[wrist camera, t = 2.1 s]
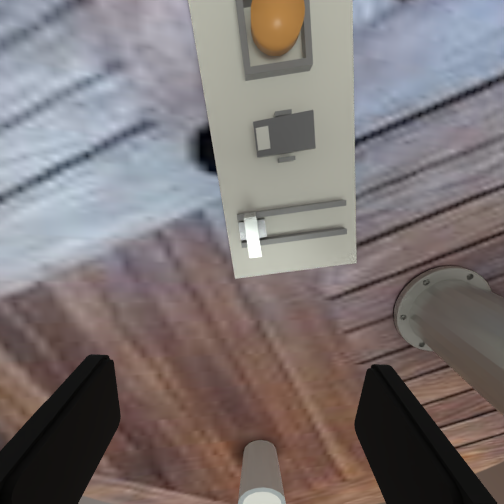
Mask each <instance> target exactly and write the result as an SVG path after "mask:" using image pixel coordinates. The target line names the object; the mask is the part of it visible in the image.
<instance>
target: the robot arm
mask: <svg viewBox="0 0 504 504" xmlns="http://www.w3.org/2000/svg"><path fill="white" fill-rule="evenodd" d="M394 323H395V326H396V329H397V331H398V332H399V334H400V335H401V336H402V337H403V338H404V339H405V340H406V341H407V342H408V343H409V344H411V345H412V346H414V347H416V348H418V349H421V350H426V351H434V352H435V353H436V354H437V355H438V356H439V357H440V358H441V359H443V360H444V361H445V362H446V363H447V364H448V365H449V366H450V367H451V368H452V369H453V370H454V371H455V372H457V373H458V374H459V375H460V376H461V377H462V378H463V379H464V380H465V381H466V382H467V383H468V384H469V385H471V386H472V387H473V388H474V389H475V390H476V391H477V392H478V393H479V394H480V395H481V396H482V397H483V398H484V399H486V400H487V401H488V402H489V403H490V404H491V405H492V406H493V407H494V408H495V409H496V410H497V411H498V412H500V413H501V414H502V415H503V416H504V297H502V296H499V295H497V294H495V293H493V292H491V288H490V287H489V285H488V283H487V281H486V280H485V279H484V278H483V277H482V276H480V275H479V274H477V273H476V272H474V271H471V270H469V269H466V268H463V267H459V266H443V267H437V268H434V269H431V270H428V271H426V272H424V273H422V274H420V275H419V276H417V277H416V278H414V279H413V280H412V281H411V282H410V283H409V284H408V285H407V286H406V287H405V288H404V289H403V291H402V292H401V293H400V295H399V297H398V299H397V301H396V305H395V308H394ZM119 422H120V407H119V400H118V392H117V384H116V376H115V369H114V362H113V360H110V358H109V356H108V355H92V354H91V355H89V356H87V357H86V358H85V359H84V361H83V362H82V363H81V364H80V365H79V366H78V367H77V368H76V369H75V370H74V372H73V373H72V374H71V375H70V376H69V377H68V378H67V379H66V380H65V381H64V383H63V384H62V385H61V386H60V387H59V388H58V389H57V390H56V391H55V392H54V394H53V395H52V396H51V397H50V398H49V399H48V400H47V401H46V402H45V403H44V404H43V405H42V406H41V407H40V408H39V409H38V410H37V411H36V412H35V414H34V415H33V416H32V417H31V418H30V419H29V420H28V421H27V422H26V423H25V425H24V426H23V427H22V428H21V429H20V430H19V431H18V432H17V433H16V434H15V436H14V437H13V438H12V439H11V440H10V441H9V442H8V443H7V444H6V445H5V446H4V448H3V449H2V450H1V451H0V504H78V502H79V500H80V498H81V497H82V495H83V493H84V491H85V489H86V487H87V485H88V483H89V481H90V479H91V478H92V476H93V474H94V472H95V470H96V468H97V466H98V464H99V462H100V460H101V458H102V457H103V455H104V453H105V451H106V449H107V447H108V445H109V443H110V441H111V439H112V437H113V436H114V434H115V432H116V430H117V428H118V426H119ZM355 431H356V434H357V436H358V439H359V441H360V443H361V446H362V448H363V450H364V453H365V455H366V457H367V460H368V462H369V464H370V467H371V469H372V471H373V474H374V476H375V478H376V481H377V483H378V485H379V488H380V490H381V492H382V495H383V497H384V499H385V502H386V504H497V502H496V501H495V499H494V498H493V497H492V496H491V494H490V493H489V492H488V490H487V489H486V488H485V487H484V485H483V484H482V483H481V481H480V480H479V479H478V478H477V476H476V475H475V474H474V472H473V471H472V470H471V468H470V467H469V466H468V465H467V463H466V462H465V461H464V459H463V458H462V457H461V456H460V454H459V453H458V452H457V450H456V449H455V448H454V446H453V445H452V444H451V443H450V441H449V440H448V439H447V437H446V436H445V435H444V434H443V432H442V431H441V430H440V428H439V427H438V426H437V425H436V423H435V422H434V421H433V419H432V418H431V417H430V415H429V414H428V413H427V412H426V410H425V409H424V408H423V406H422V405H421V404H420V403H419V401H418V400H417V399H416V397H415V396H414V395H413V394H412V392H411V391H410V390H409V388H408V387H407V386H406V384H405V383H404V382H403V381H402V379H401V378H400V377H399V375H398V374H397V373H396V372H395V370H394V369H393V368H392V367H391V366H390V365H377V364H374V365H372V366H371V368H369V369H367V372H366V376H365V380H364V384H363V389H362V393H361V397H360V401H359V405H358V410H357V414H356V418H355Z"/></svg>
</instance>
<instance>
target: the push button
mask: <svg viewBox="0 0 504 504" xmlns="http://www.w3.org/2000/svg"><path fill="white" fill-rule="evenodd" d="M304 16H305V4H304V0H252V3H251V34H252V38H253V41H254V43H255V45H256V46H257V47H258V49H259V50H260V51H262V52H263V53H264V54H266V55H269V56H280V55H283V54H285V53H287V52H288V51H289V50H290V49H291V48H292V47H293V46H294V45H295V43H296V41H297V39H298V36H299V33H300V30H301V27H302V24H303V21H304Z"/></svg>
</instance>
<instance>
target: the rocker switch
mask: <svg viewBox="0 0 504 504" xmlns="http://www.w3.org/2000/svg"><path fill="white" fill-rule="evenodd" d="M253 126H254V135H255V143H256V151H257V157H258V158H262V157H268V156H274V155H280V154H286V153H293V152H299V151H305V150H311V149H315V148H316V146H315V128H314V111H313V110H309V111H304V112H299V113H294V114H289V115H284V116H279V117H274V118H269V119H264V120H259V121H255V122H253Z"/></svg>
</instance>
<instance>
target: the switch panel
mask: <svg viewBox="0 0 504 504" xmlns="http://www.w3.org/2000/svg"><path fill="white" fill-rule="evenodd" d="M188 2H189V8H190V14H191V20H192V26H193V32H194V38H195V44H196V50H197V56H198V62H199V67H200V73H201V79H202V85H203V91H204V97H205V103H206V109H207V115H208V121H209V127H210V132H211V138H212V144H213V150H214V156H215V162H216V168H217V174H218V180H219V186H220V192H221V198H222V203H223V209H224V215H225V221H226V227H227V233H228V239H229V245H230V251H231V257H232V263H233V268H234V274H235V279H236V278H244V277H251V276H259V275H267V274H275V273H282V272H290V271H298V270H306V269H313V268H321V267H329V266H337V265H344V264H352V263H356V200H355V136H354V71H353V6H352V0H304V4H305V16H304V21H303V24H302V27H301V30H300V33H299V36H298V39H297V41H296V43H295V45H294V46H293V47H292V48H291V49H290V50H289V51H288V52H287V53H285V54H283V55H280V56H269V55H266V54H264V53H263V52H262V51H260V50H259V49H258V47H257V46H256V45H255V43H254V41H253V38H252V34H251V3H252V0H188ZM309 110H313V111H314V128H315V146H316V148H315V149H311V150H305V151H299V152H293V153H286V154H280V155H274V156H268V157H262V158H258V157H257V151H256V143H255V135H254V126H253V122H255V121H259V120H264V119H269V118H274V117H279V116H284V115H289V114H294V113H299V112H304V111H309ZM251 212H256V218H257V219H261V218H264V219H265V225H266V234H267V237H261V238H259V241H260V248H261V256H262V257H255V258H250V257H249V251H248V244H247V239H246V240H241V238H240V232H239V225H238V222H239V221H244V215H245V213H251Z"/></svg>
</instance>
